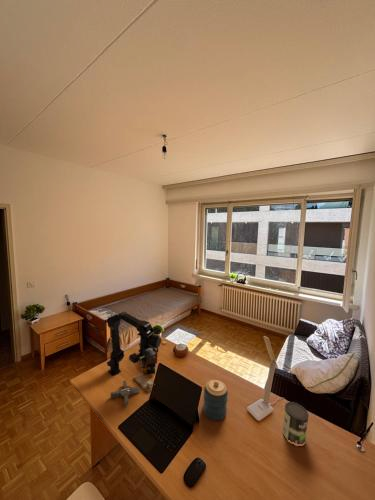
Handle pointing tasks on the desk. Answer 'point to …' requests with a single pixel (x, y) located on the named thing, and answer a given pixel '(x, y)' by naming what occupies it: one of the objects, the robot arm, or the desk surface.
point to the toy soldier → (150, 365)
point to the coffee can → (295, 422)
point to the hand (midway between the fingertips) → (143, 365)
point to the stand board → (144, 382)
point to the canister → (215, 400)
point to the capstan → (125, 392)
